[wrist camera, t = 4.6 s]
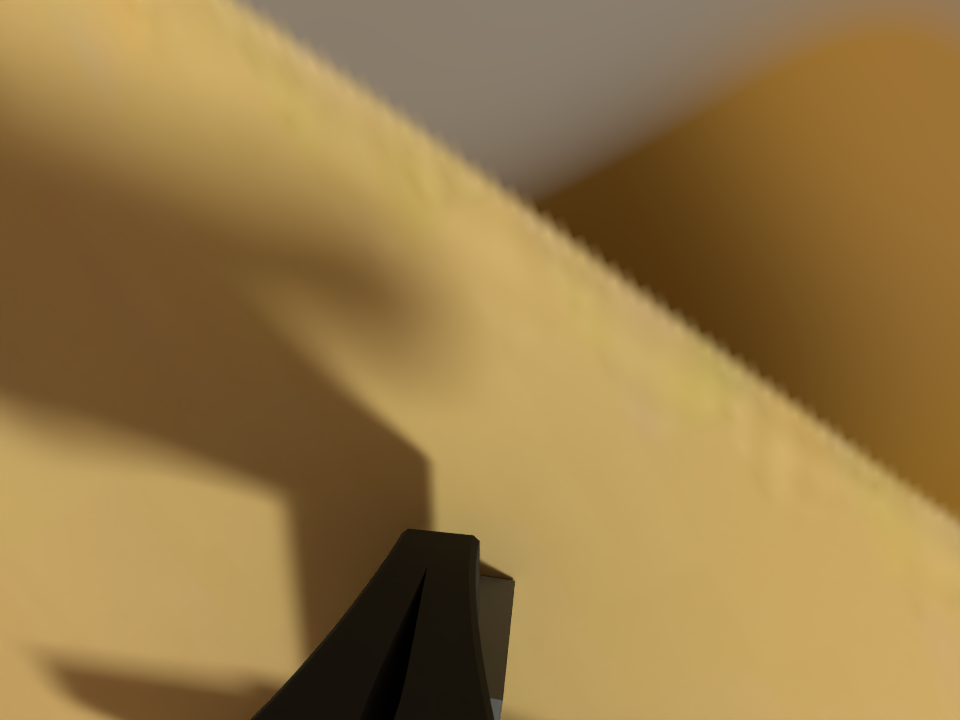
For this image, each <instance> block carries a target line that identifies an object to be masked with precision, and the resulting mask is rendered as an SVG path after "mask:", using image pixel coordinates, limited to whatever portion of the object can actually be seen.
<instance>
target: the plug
mask: <svg viewBox="0 0 960 720" xmlns="http://www.w3.org/2000/svg"><path fill="white" fill-rule="evenodd" d="M514 586H515V581H512V580H506V579H499V578H493V577H487V576H481V575H479V618H478V624H479V632H480V640H481V648H482V655H483V661H484V668H485V674H486V679H487V685H488V690H489V695H490V701H491V706H492V710H493V715H494V720H500V715H501V709H502V702H503V693H504V683H505V674H506V664H507V654H508V644H509V635H510V625H511V615H512V606H513V596H514Z"/></svg>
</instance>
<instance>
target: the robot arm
mask: <svg viewBox="0 0 960 720" xmlns="http://www.w3.org/2000/svg"><path fill="white" fill-rule="evenodd" d="M479 556H480V541H479V540H478V539H477V538H476V537H475V536H474V535H464V534H454V533H444V532H435V531H425V530H415V529H407V530H406V531H404V532H403V533H402V534H401V536H400V538H399V539H398V541H397V542H396V544H395V545H394V547H393V549H392V550H391V552H390V553H389V555H388V556H387V558H386V559H385V560H384V562H383V563H382V565H381V566H380V568H379V569H378V571H377V572H376V573H375V575H374V576H373V577H372V579H371V580H370V582H369V583H368V584H367V586H366V587H365V588H364V590H363V591H362V592H361V594H360V595H359V596H358V598H357V599H356V600H355V601H354V603H353V604H352V605H351V607H350V608H349V609H348V610H347V612H346V613H345V614H344V616H343V617H342V618H341V619H340V621H339V622H338V623H337V625H336V626H335V627H334V628H333V629H332V631H331V632H330V633H329V634H328V635H327V637H326V638H325V639H324V640H323V641H322V642H321V644H320V645H319V646H318V647H317V648H316V649H315V651H314V652H313V653H312V654H311V655H310V656H309V658H308V659H307V660H306V661H305V662H304V663H303V664H302V666H301V667H300V668H299V669H298V670H297V671H296V672H295V674H294V675H293V676H292V677H291V678H290V679H289V680H288V681H287V682H286V683H285V684H284V686H283V687H282V688H281V689H280V690H279V691H278V692H277V693H276V694H275V695H274V696H273V697H272V698H271V699H270V700H269V701H268V702H267V703H266V704H265V705H264V706H263V707H262V708H261V709H260V711H259V712H258V713H257V714H256V715H255V716H254V717H253V718H252V719H251V720H494V715H493V710H492V706H491V701H490V695H489V690H488V685H487V679H486V674H485V668H484V661H483V655H482V648H481V640H480V632H479V624H478V618H479Z"/></svg>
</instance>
